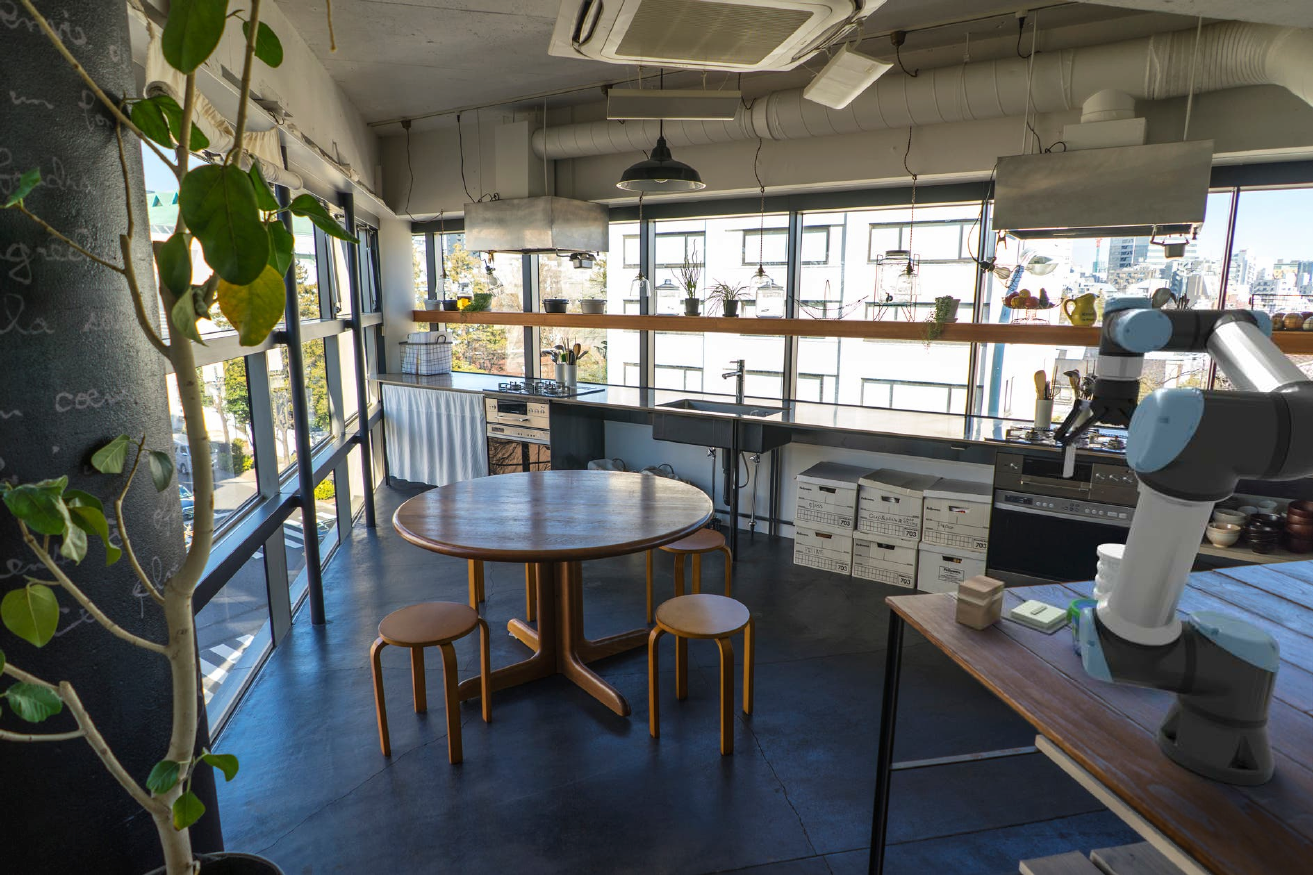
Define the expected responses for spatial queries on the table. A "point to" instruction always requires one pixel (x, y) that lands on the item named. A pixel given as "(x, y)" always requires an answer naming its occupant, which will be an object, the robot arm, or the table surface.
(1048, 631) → the mat
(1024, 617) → the lid
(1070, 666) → the table surface
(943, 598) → the table surface
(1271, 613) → the table surface
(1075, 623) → the snack cup
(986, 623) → the walnut box
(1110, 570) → the decorative container
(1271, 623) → the table surface
